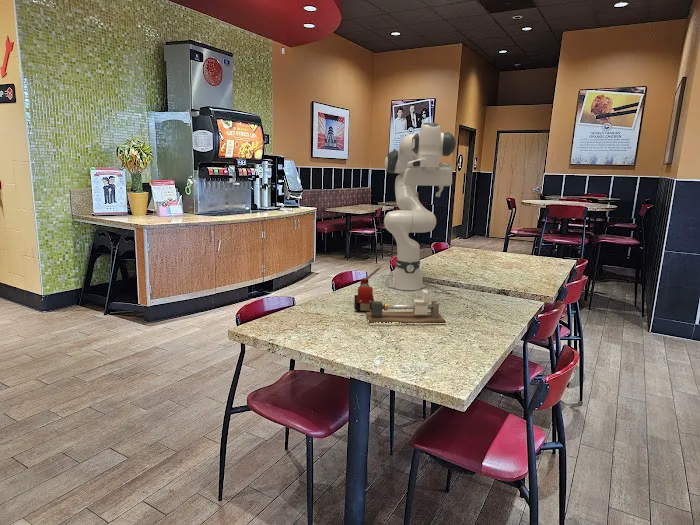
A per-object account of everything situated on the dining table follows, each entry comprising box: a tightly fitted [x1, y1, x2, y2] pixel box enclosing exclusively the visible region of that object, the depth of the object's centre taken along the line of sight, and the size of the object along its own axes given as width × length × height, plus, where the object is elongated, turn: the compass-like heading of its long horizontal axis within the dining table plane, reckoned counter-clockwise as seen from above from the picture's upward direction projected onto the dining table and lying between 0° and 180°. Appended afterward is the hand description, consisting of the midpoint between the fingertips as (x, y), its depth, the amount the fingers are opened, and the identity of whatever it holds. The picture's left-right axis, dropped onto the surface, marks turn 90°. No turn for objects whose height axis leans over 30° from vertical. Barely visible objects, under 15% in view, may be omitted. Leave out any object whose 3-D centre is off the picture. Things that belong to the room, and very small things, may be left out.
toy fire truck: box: [353, 266, 382, 312], centre depth 198 cm, size 11×16×18 cm
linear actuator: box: [365, 300, 447, 324], centre depth 184 cm, size 12×30×8 cm, turn 95°
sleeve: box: [412, 289, 429, 315], centre depth 183 cm, size 4×5×9 cm
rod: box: [370, 300, 433, 318], centre depth 184 cm, size 4×26×6 cm, turn 95°
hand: (426, 196), depth 194 cm, fingers open, 8 cm apart
